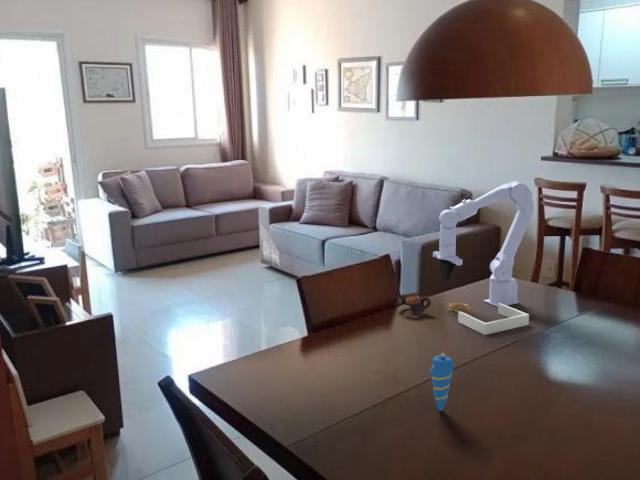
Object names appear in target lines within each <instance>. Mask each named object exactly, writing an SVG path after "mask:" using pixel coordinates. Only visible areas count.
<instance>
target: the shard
mask: <svg viewBox="0 0 640 480" xmlns="http://www.w3.org/2000/svg"><path fill="white" fill-rule="evenodd" d="M447 311H450V312H454V313H457V314H458V312H460V311H461V312H463V313H465V314H467V315H470V316H472V317H473V313H472V311H471V306H470V305H469V304H466V303H461V302H457V303H456V302H450V303H449V306H448V307H447Z"/></svg>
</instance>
